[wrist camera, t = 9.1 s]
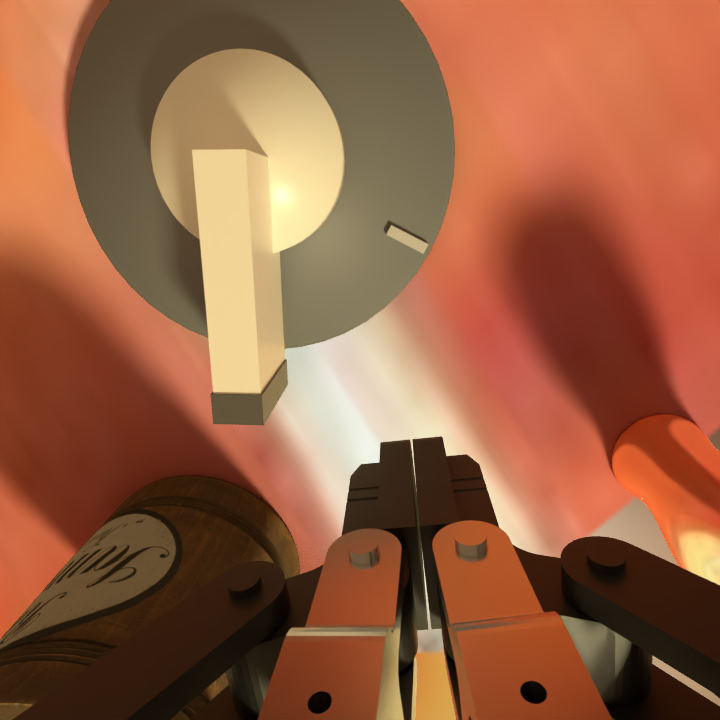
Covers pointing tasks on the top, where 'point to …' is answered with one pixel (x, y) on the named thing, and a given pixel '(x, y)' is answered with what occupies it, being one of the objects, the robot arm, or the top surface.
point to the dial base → (357, 123)
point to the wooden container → (137, 581)
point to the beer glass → (675, 486)
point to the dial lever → (246, 204)
